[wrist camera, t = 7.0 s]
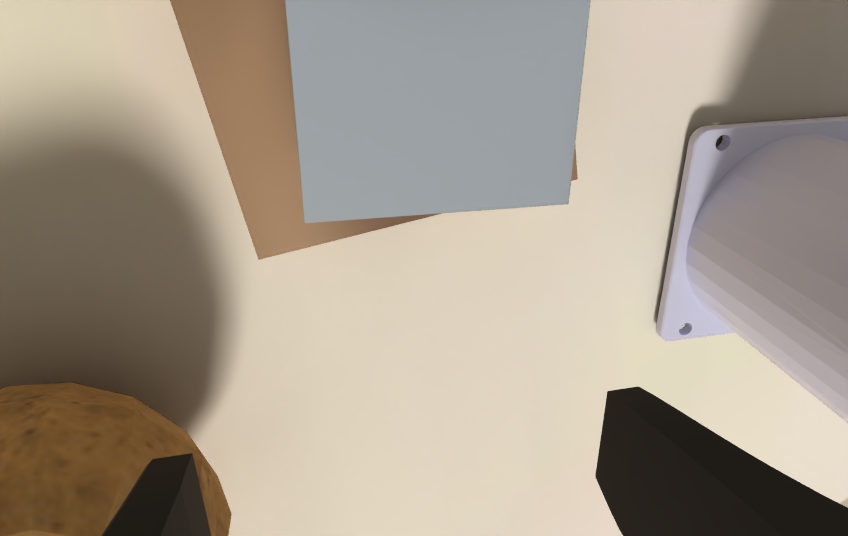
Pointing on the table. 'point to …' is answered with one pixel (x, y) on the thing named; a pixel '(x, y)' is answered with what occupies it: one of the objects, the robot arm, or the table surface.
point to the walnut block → (260, 119)
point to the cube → (434, 104)
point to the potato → (84, 459)
